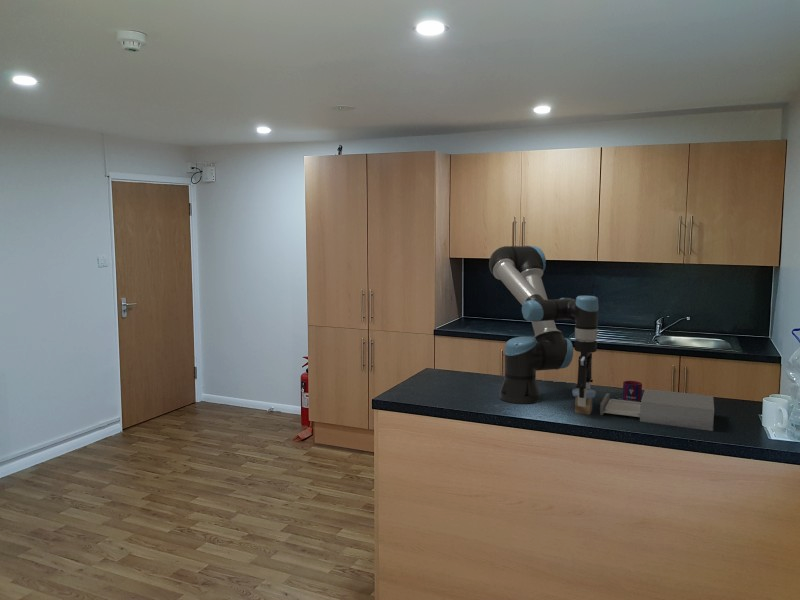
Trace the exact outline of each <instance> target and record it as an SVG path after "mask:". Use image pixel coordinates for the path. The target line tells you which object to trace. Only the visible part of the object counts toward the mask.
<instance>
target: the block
mask: <svg viewBox="0 0 800 600" xmlns="http://www.w3.org/2000/svg"><path fill="white" fill-rule="evenodd" d="M574 397H575V396H574ZM574 405H575V406H574V413H575V414H583V415H589V416H590V414H591V413H592V411H593V398H590V399H586V407H582V406H578V397H575V403H574Z"/></svg>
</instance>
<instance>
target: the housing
mask: <svg viewBox="0 0 800 600" xmlns="http://www.w3.org/2000/svg"><path fill="white" fill-rule="evenodd" d="M642 393H643V394H642V397H641V407H640V417H639V422H641V423H648V424H655V425H656V424H657V425H663V426H671V427H679V428H687V429H694V430H703V431H710V432H713V431H714V422H715V421H714V420H715V419H714V418H715V403H714V396H713V395H706V394H697V393H687V392H678V391H669V390H668V391H667V390H660V389H658V390H657V389H649V388H645V389H644V391H643V392H642Z"/></svg>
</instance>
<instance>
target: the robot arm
mask: <svg viewBox="0 0 800 600" xmlns="http://www.w3.org/2000/svg"><path fill="white" fill-rule="evenodd" d="M546 260H547V259H546V256H545V253H544V251H543V250H542V249H541V248H540V247H538V246H535V245H534V246H533V245H524V246H523V245H519V246H518V245H514V246H511V245H510V246H508V245H504V246H500V247H498V248H497V249H496V250H494V251H493V253H491V255H490V257H489V260H488V261H489V262H488V268H489V271H490V273H491V274H492V275H493V276H494V278H495V279H497V280H500V281H501V282H502V284H503V285H504V286H505V287H506V288H507V289H508V290H509V291H510V293H511V294H512V295H513V297H515V299H516V300H517V301H518V302H519V303H520V305H522V306H521V314H522V317H523V319H524V320H525V321H526V322H531V325H532V329H533V333H534V336H518V337H517V336H516V337H512V338H511V339H509V340H507V341H506V342H505V347H504V348H505V349H504V379H503V382H502V385H501V388H500V390H499V398H500V399H501V400H502V401H505V402H508V403H511V404H521V405H522V404H526V405H527V404H533V403H537V402H539V401H540V400H541V393H540V390H539V386H538V383H537V382H538V381H537V380H536V379H537V378H536V377H537V375H536V373H537V371H551V370H559V369H566V368H567V367H569V366H570V365H571V363H572V361H573V357H574V351H576V352H577V353H578V352H579V353H580V355H579V356H578V359H577V360H578V366H577V367H578V369H577V382H576V383H577V385H576V386H575V389H576V388H578V406H582V407H586V388H587V389H591V383H593V382H594V380H593V379H592V368H593V367H592V364H593V363H592V360H593V353H596V352H597V350H598V342H597V339H598V335H599V334H600V331H598V326H599V325H598V324H599V310H600V308H599V298H598V297H597V296H594V295H577V297H575V299H574V298H571V297H560V298H558V299H548V295H547V293H546V289H545V285H544V282H543V279H542V277H543V275H544V271H545V270H546V267H547V266H546V265H547V264H546V263H547V261H546ZM563 320H564V321H567V320H568V321H569V320H570V321H574V322H575V325H574V339H575V340H574V345H573V343H572V341H571V340H570V339H569V338H566V337H564V335H563V333H562V331H561V330H559V329H558V328H557V326H556V323H555V321H563ZM573 346H574V347H573Z"/></svg>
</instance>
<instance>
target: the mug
mask: <svg viewBox="0 0 800 600" xmlns="http://www.w3.org/2000/svg"><path fill="white" fill-rule="evenodd" d="M642 391H643V383H642V382H641V381H636V380H625V381H623V382H622V400H625V401H634V402H640V401H641V399H642V396H643V394H642V393H643V392H642Z"/></svg>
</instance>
